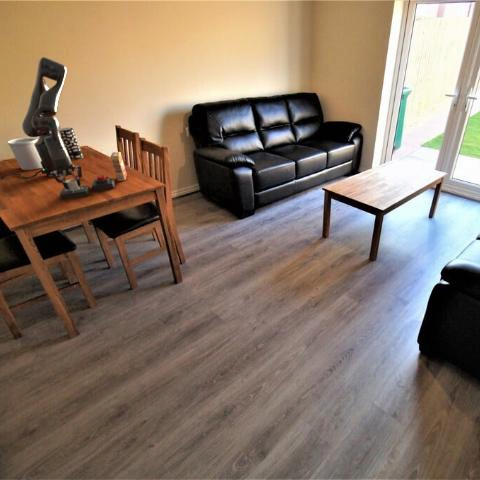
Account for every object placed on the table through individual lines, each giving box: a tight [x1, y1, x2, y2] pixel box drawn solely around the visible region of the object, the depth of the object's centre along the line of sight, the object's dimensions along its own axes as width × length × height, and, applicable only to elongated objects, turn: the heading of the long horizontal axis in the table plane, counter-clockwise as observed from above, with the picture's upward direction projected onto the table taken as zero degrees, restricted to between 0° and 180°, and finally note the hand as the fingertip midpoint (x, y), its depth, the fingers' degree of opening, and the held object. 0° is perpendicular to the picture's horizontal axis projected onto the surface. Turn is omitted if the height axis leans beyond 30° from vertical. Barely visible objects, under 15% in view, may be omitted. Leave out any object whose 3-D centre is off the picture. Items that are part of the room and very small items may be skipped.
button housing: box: [91, 176, 116, 192], centre depth 186 cm, size 10×9×5 cm
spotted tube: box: [60, 127, 84, 160], centre depth 227 cm, size 8×8×20 cm
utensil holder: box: [7, 137, 43, 171], centre depth 211 cm, size 15×15×18 cm
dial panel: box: [59, 184, 91, 201], centre depth 177 cm, size 12×10×3 cm
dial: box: [65, 178, 79, 191], centre depth 175 cm, size 5×5×5 cm
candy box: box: [110, 151, 128, 182], centre depth 195 cm, size 9×4×15 cm, turn 20°
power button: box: [96, 174, 107, 180], centre depth 185 cm, size 4×4×2 cm
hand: (73, 187), depth 176 cm, fingers closed on dial, 5 cm apart
